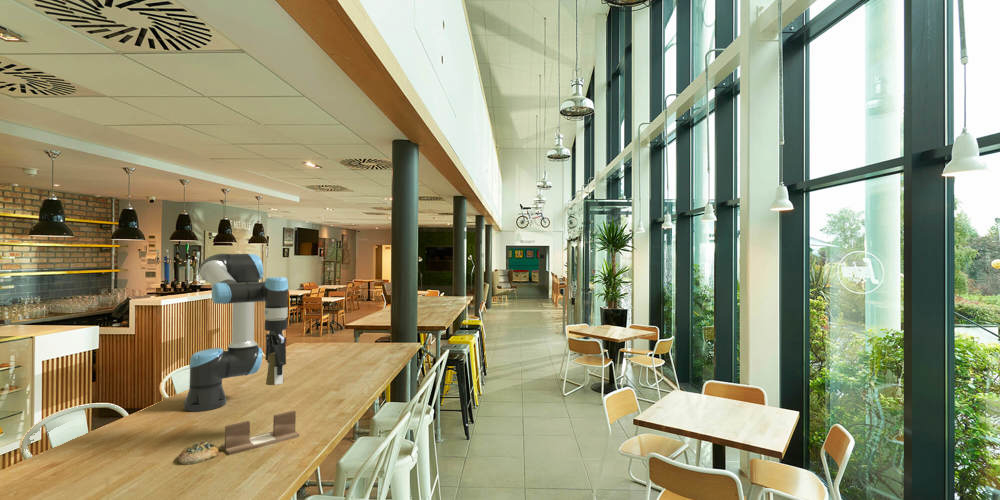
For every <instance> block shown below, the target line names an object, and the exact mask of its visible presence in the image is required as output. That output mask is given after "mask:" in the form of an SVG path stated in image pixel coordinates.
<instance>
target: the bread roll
mask: <svg viewBox="0 0 1000 500" xmlns="http://www.w3.org/2000/svg"><path fill="white" fill-rule="evenodd" d="M219 453H220V451H219V449H218V447H217V446H216V445H214V444H213V443H209V442H208V441H204V440H203V441H201V442H196V443H194V444H193V445H191V446H188V447H186V448H184V449H183V450H182V451H181V452H180V454H179V455H178V457H177V461H178V463H179V464H181V465H188V466H189V465H194V464H199V463H204V462H206V461H208V460H210V459H212V458H215V457H217V455H218V454H219Z"/></svg>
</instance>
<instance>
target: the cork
mask: <svg viewBox="0 0 1000 500" xmlns="http://www.w3.org/2000/svg"><path fill="white" fill-rule="evenodd" d="M268 362H269V367H268V366H267V373H266V380H265V381H266V382H265V385H267V386H275V385H274V369H275V367H274V365H276V362H275V353H271V354H269V355H268ZM284 379H285V378H284V377H283V383H282V384H284V383H285V380H284ZM278 385H279V384H277V386H278Z"/></svg>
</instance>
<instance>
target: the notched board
mask: <svg viewBox="0 0 1000 500" xmlns="http://www.w3.org/2000/svg"><path fill="white" fill-rule="evenodd" d="M296 415H297V413H296V410H292V411H287V412H283V413H278V414H273V419H272V420H273V424H272V425H273V426H272V427H273V429H272V430H273V431H270V432H266V433H262V434H257V435H253V436H250V434H251V432H250V431H251V422H250V421H249V420H247V421H242V422H238V423H233V424H228V425H225V426H224V443H221V448H222V449H223V450H224V451H225V453H227V455H228V456H230V455H235V454H238V453H242V452H245V451H250V450H254V449H256V448H261V447H265V446H269V445H272V444H273V445H274V444H276V443H277V444H278V443H280V442H283V441H284V442H285V441H287V440H290V439H295V438H300V433H299V432H297V431H296V422H297V421H296Z"/></svg>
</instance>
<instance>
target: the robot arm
mask: <svg viewBox="0 0 1000 500" xmlns="http://www.w3.org/2000/svg"><path fill="white" fill-rule="evenodd" d="M198 272H199V276H200V277H201V279H202V280H204V281H205V282H207V283H209V284H210V286H211V301H212V302H213V304H222V305H228V304H232V314H231V316H232V318H231V319H232V320H231V321H232V323H231V324H232V325H231V327H232V328H231V342H230V343H229V344H228V345H227V350H224V349H223V348H222V347H216V348H213V347H212V348H209V349H203V350H200V351H197V352H194V353H193V354H192V355H191V356H190V359H189V360H190V361H189V389H188V393H187V394H186V397H185V400H184V402H183V410H184V411H187V412H205V411H210V410H215V409H217V408H221V407H223V406H225V405H227V396H226V392H225V390H224V388H223V379H229V378H234V377H235V378H236V377H243V376H249V375H253V374H256V373H258V371H259V370H260V369H261V365H262V363H263V350H262V348H261V347H259V346H258V344H259V343H257V342H256V341H255V303H258V302H260V303H262V302H263V303H264V310H263V314H264V319H266V320H264V331H266V332H269V333H266V334H265V361H266V363H267V368H268V367H269V362H268V355H269V354H271V353H275V362H276V365H274V367H275V369H274V385H273V386H276V385H277V384H278V385H281V384H284V383H283V378H284V365H285V366H286V364H287V337H286V336H285V337H284V335H283V334H284V333H283V331H285V330H287V329H288V319H287V318H288V314H289V313H288V311H289V309H288V301H289V300H288V299H289V298H288V297H289V296H288V295H289V283H288V281H289V280H288V278H287V277H284V276H283V277H280V276H279V277H278V276H275V277H274V276H273V277H271V276H270V277H266V279H265V281H264V280H263V281H261V280H262V279H263V277H264V264H263V261H262V259H261V257H260V256H259V255H258V254H254V253H216V254H212V255H211V256H209V257H206V258H205V259H204V260H203V261H201V263H200V265H199V269H198ZM259 280H260V281H259ZM278 385H277V386H278Z"/></svg>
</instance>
